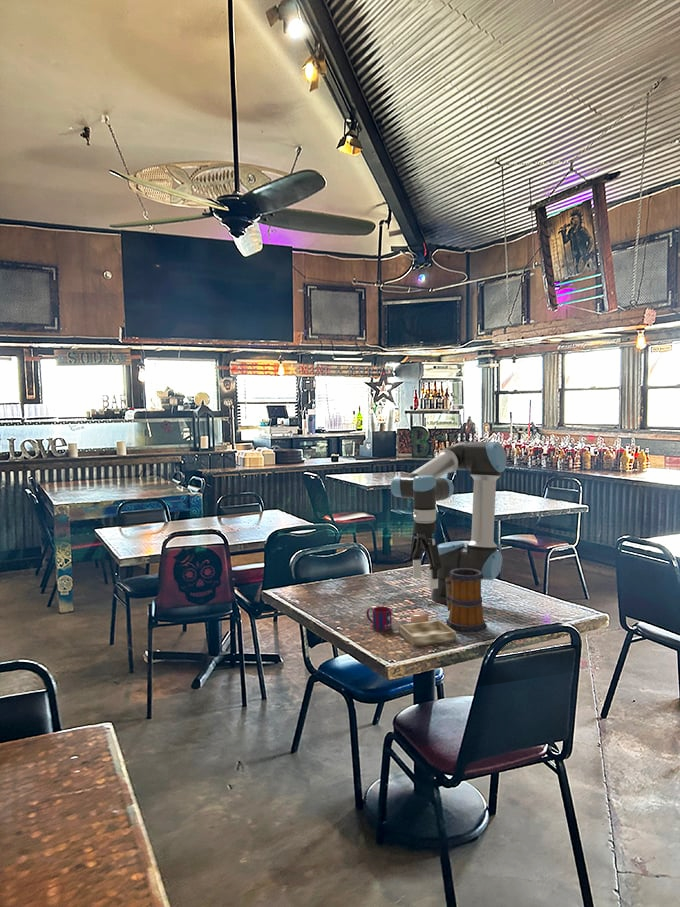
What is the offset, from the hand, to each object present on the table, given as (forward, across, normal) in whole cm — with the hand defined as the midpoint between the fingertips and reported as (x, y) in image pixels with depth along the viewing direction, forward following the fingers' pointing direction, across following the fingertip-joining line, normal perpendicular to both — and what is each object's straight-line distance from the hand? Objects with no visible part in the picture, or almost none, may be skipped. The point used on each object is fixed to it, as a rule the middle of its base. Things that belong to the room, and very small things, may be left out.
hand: (425, 583), depth 215 cm
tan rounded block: (+19, -12, +3) cm, 23 cm away
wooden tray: (+19, 0, 0) cm, 19 cm away
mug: (+19, -6, +17) cm, 26 cm away
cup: (+19, -15, -12) cm, 27 cm away
